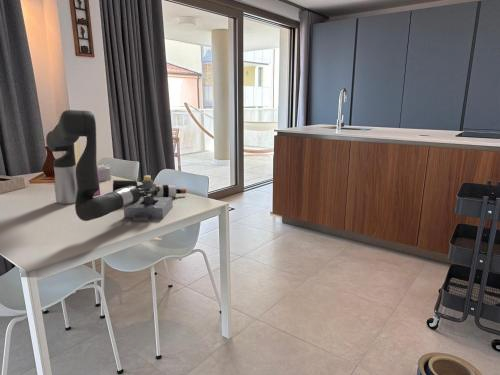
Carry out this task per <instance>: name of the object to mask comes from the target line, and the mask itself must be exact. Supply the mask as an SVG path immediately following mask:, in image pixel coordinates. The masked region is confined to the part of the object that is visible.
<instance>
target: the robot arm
mask: <svg viewBox="0 0 500 375" xmlns="http://www.w3.org/2000/svg"><path fill="white" fill-rule="evenodd" d="M96 123H97V122H96V118H95V114H94V113H93V112H92V111H91V110H81V109H79V110H76V109H68V110H64V111H63V112H62V113H61V115H60V117H59V121H58V123H57V124H56V126H55V127H54V128H53V129H52V130H50V131H49V132H47V134H46V137H45V138H46V139H45V142H46V146H47V148H48V150H49V151H51V152H54V153H55V152H56V153H57V152H65V154H63V155H62V156H60V157H58V158H55V159H54V160H53V162H52V163H53V171H54V179H55V182H53V186H54V194H55V202H56V203H57V204H61V205H69V204H75V206H74V207H75V208H74V209H75V214H76V216H77V217H78V219H80V220H81V221H83V222H88V221H92V220H95V219H100V218H102V217H104V216H107V215H109V214H111V213H113V212H116V211H118V210H121V209H124V208H125V207H128V206H130V205H133V204H135V203H137V202H138V201H139V199H140V198H143V197H147V198H151V197H154V196H156V195H158V192H159V191H160V187H158V186H157V187H155V188H151V189H149V188H143V187H142V185H138V186H126V187H123V188H120V189H117V190H115V191H113V190H112V191H111V192H107V193H105V194H102V195H99V196H96V197H94V196H95V195H94V193H95V192H97V191H98V190H99V186H100V181H99V180H98V173H97V125H96ZM80 137H86V144H85V147H84V150H83V152H82V154H81V156H80V157H79V159H78V161H77V163H76V155H75V154H76V153H75V152H76V151H75V143H76V142H77V141H79V138H80ZM145 190H147V192H146V193H145ZM150 190H151V191H150Z"/></svg>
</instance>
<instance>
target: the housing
mask: <svg viewBox="0 0 500 375" xmlns="http://www.w3.org/2000/svg"><path fill="white" fill-rule="evenodd" d="M173 206H174V205H173V197H154V205H150V204H144V201H143V198H140V199H139V201H138V202H137V203H135V204H133V205H130V206H128V207H125V208H123V214H124V215H123V216H124V219H132V222H139V223H141V222H142V223H143V222H145V223H146V222H150V220H152V219H158V220H159V219H161V220H162V219H164V218H165V217H166V215H168V214H169V212H170V211H171V209H173Z"/></svg>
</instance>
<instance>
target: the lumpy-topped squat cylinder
mask: <svg viewBox="0 0 500 375" xmlns="http://www.w3.org/2000/svg"><path fill="white" fill-rule="evenodd" d="M97 169H98V177H99V182H106V181H107V180H108V181H111V180H112V173H111V172H112V171H111V166H110V165H109V164H103V163H102V164H100V165H99V164H97ZM108 181H107V182H108Z"/></svg>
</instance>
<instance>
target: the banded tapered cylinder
mask: <svg viewBox="0 0 500 375" xmlns="http://www.w3.org/2000/svg"><path fill="white" fill-rule="evenodd" d="M112 180H113V181H112V192H113V191H115V190H117V189H120V188H123V187H126V186H138V185H142V182H141V183H138V182H137V180H126V179H125V180H124V179H123V180H119V179H118V180H117V179H116V180H115V179H112ZM157 186H158V187H160V191H159V192H158V195H156V196H154V197H172V198H176V197H177V195H180V194H181V195H182V194H183V195H184V194H187V189H186V188H184V189H179V188H177V186H176V185H171V184H169V185H168V184H156V183H153V188H155V187H157Z"/></svg>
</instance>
